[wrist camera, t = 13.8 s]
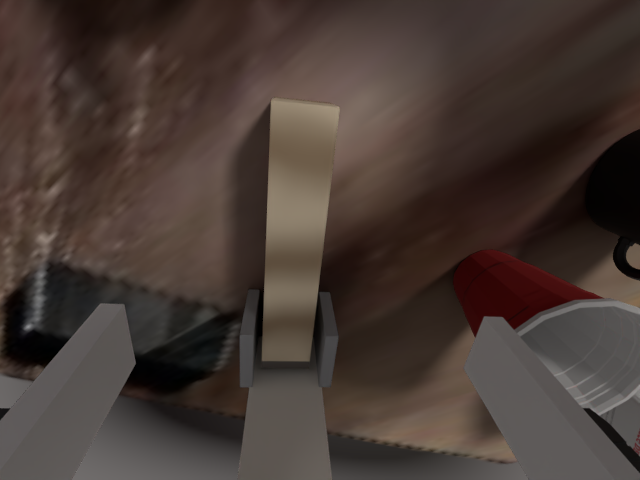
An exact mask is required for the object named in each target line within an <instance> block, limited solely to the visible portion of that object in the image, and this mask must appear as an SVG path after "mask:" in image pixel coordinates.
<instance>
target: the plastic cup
mask: <svg viewBox="0 0 640 480" xmlns="http://www.w3.org/2000/svg"><path fill="white" fill-rule="evenodd" d="M453 285H454V289H455V292H456V295H457V298H458V300H459V302H460V304H461V306H462V308H463V310H464V313H465V316H466V318H467V321H468V323H469V325H470V327H471V329H472V332H473V334H474V336H475V338H476V335H477V333H478V330H479V328H480V325H481V323H482V320H483V318H484V316H485V317H503V318H504V319H505V320H506V322H507V323H508V324H509V325H510V326H511V327H512V328H513V330H514V331H515V332H516V333H517V334H518V335H519V336H520V338H521V339H522V340H523V341H524V342H525V343H526V344H527V346H528V347H529V348H530V349H531V350H532V351H533V352H534V353H535V355H536V356H537V357H538V358H539V359H540V360H541V361H542V363H543V364H544V365H545V366H546V367H547V368H548V369H549V371H550V372H551V373H552V374H553V375H554V376H555V377H556V379H557V380H558V381H559V382H560V383H561V384H562V385H563V387H564V388H565V389H566V390H567V391H568V392H569V393H570V395H571V396H572V397H573V398H574V399H575V400H576V401H577V402H578V404H579V405H580V406H581V407H582V408H590V409H591V410H593V411H594V412H595V413H596V414H598V415H599V416H600V415H601V414H603V413H605V412H607V411H609V410H611V409H612V408H614V407H616V406H618V405H620V404H622V403H623V402H625V401H627V400H629V399H630V398H631V397H632V396H633V395H634V394H635V393H636V392H637V391H638V390H639V389H640V308H638V307H635V306H632V305H629V304H626V303H623V302H620V301H617V300H614V299H611V298H602V297H600V296H598V295H596V294H594V293H591V292H588V291H585V290H583V289H581V288H579V287H577V286H574V285H572V284H570V283H568V282H566V281H564V280H562V279H560V278H558V277H556V276H554V275H552V274H550V273H548V272H546V271H544V270H542V269H540V268H538V267H535V266H533V265H531V264H528V263H525V262H523V261H521V260H519V259H517V258H515V257H513V256H511V255H509V254H506V253H503V252H499V251H496V250H482V251H479V252H476V253H474V254H472V255H470V256H468V257H467V258H466V259H465V260H464V261H463V262H461V263H460V265H459V266H458V268H457V270H456V271H455V273H454V279H453Z"/></svg>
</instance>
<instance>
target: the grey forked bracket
mask: <svg viewBox="0 0 640 480" xmlns="http://www.w3.org/2000/svg"><path fill="white" fill-rule="evenodd" d="M259 292H260V290H251V289H248V294H247V300H246V305H245V310H244V315H243V320H242V326H241V331H240V387H249V394H248V402H247V409H246V417H245V425H244V433H243V441H242V449H241V456H240V465H239V472H238V480H332V475H331V466H330V457H329V448H328V439H327V430H326V421H325V412H324V403H323V394H322V387H331V381H332V375H333V369H334V362H335V356H336V350H337V343H338V337H339V336H338V331H337V326H336V321H335V316H334V311H333V306H332V301H331V296H330V292H319V298H318V306H317V315H316V323H315V332H314V337H313V338H312V346H311V355H310V363H309V368H261V366H262V339H263V337H258V332H259Z"/></svg>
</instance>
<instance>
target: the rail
mask: <svg viewBox="0 0 640 480" xmlns="http://www.w3.org/2000/svg"><path fill="white" fill-rule="evenodd" d="M339 111H340V107H338V106H336V105H334V104H331V103H327V102H317V101H308V100H299V99H289V98H280V97H274V98H273V99H272V100H271V117H270V144H269V172H268V200H267V228H266V255H265V283H264V311H263V339H262V366H261V368H309V363H310V355H311V346H312V338H313V330H314V321H315V313H316V304H317V296H318V288H319V279H320V271H321V262H322V254H323V246H324V237H325V229H326V221H327V212H328V204H329V195H330V187H331V179H332V170H333V162H334V153H335V145H336V137H337V128H338V120H339Z"/></svg>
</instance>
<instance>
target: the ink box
mask: <svg viewBox="0 0 640 480" xmlns="http://www.w3.org/2000/svg"><path fill="white" fill-rule="evenodd" d="M600 417H602V418H603V419H604V420H606V421H607V422H608V423H609V424H610V425H611V426H612V427H613V428H614V429H615V430H616V431H617V432H618V433H619V434H620V435H621V437H622V438H623V439H624V440H625V441H626V442H627V445H628V446H631V447H632V449H633V450H634V451H635V452H636V453H637V454H638V455H639V456H640V389H639V390H638V391H637V392H636V393H635V394H634V395H633V396H632V397H631V398H630V399H629V400H627V401H625V402H623V403H622V404H620V405H618V406H616V407H614V408H612V409H611V410H609V411H607V412H605V413H603V414H601V415H600Z"/></svg>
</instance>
